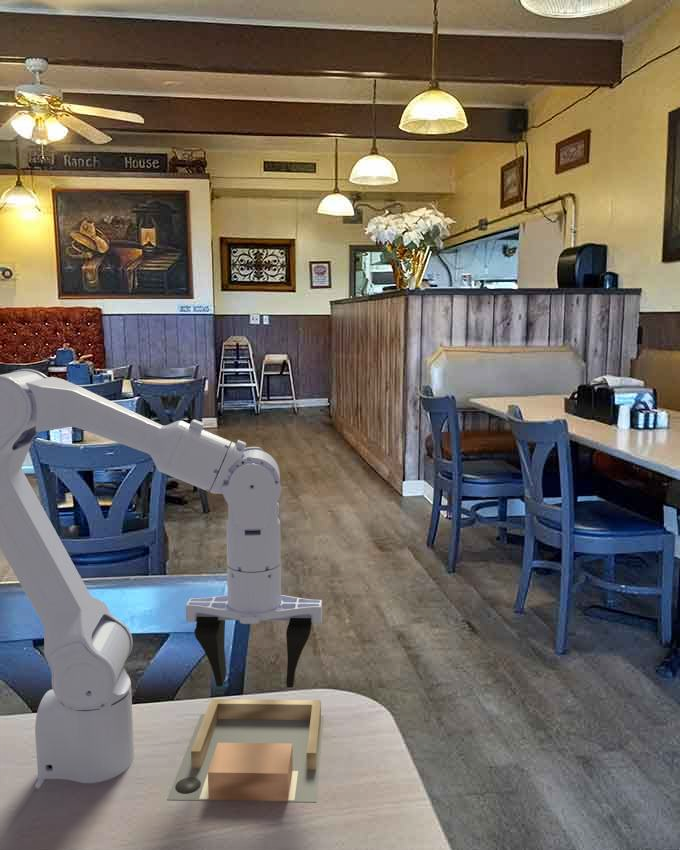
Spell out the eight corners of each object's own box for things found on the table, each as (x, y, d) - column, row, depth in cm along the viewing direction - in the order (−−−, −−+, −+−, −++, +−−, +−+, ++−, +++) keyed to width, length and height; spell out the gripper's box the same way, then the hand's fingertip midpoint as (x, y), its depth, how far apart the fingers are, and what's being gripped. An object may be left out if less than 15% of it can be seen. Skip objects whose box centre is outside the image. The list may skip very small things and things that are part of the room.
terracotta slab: (208, 799, 70) (207, 772, 70) (218, 768, 75) (217, 742, 74) (288, 801, 70) (287, 773, 69) (292, 769, 75) (292, 743, 74)
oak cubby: (191, 768, 75) (190, 751, 75) (211, 714, 85) (211, 699, 85) (316, 770, 75) (315, 752, 74) (321, 715, 85) (321, 700, 85)
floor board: (167, 805, 70) (167, 799, 70) (201, 718, 85) (201, 714, 85) (316, 807, 70) (316, 801, 70) (323, 720, 85) (323, 715, 85)
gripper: (177, 575, 71) (181, 700, 73) (319, 577, 70) (319, 702, 72) (193, 553, 78) (196, 667, 80) (323, 554, 77) (323, 669, 79)
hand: (255, 682), depth 77 cm, fingers open, 7 cm apart
